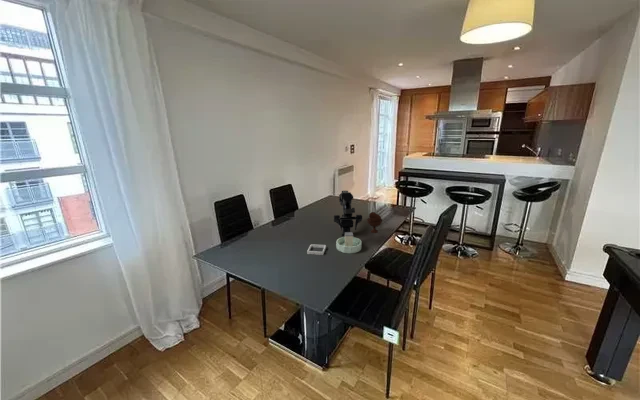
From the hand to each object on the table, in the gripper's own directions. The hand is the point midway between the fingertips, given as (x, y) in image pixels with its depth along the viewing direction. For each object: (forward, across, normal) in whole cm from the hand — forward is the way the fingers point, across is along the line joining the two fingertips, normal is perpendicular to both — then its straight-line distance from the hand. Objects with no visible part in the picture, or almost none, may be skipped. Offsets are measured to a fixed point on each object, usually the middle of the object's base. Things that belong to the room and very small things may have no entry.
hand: (348, 230), depth 171 cm
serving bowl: (+10, 0, +6) cm, 11 cm away
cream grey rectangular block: (+9, 0, +5) cm, 11 cm away
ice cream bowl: (-8, +21, +25) cm, 33 cm away
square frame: (+12, -21, +3) cm, 24 cm away
